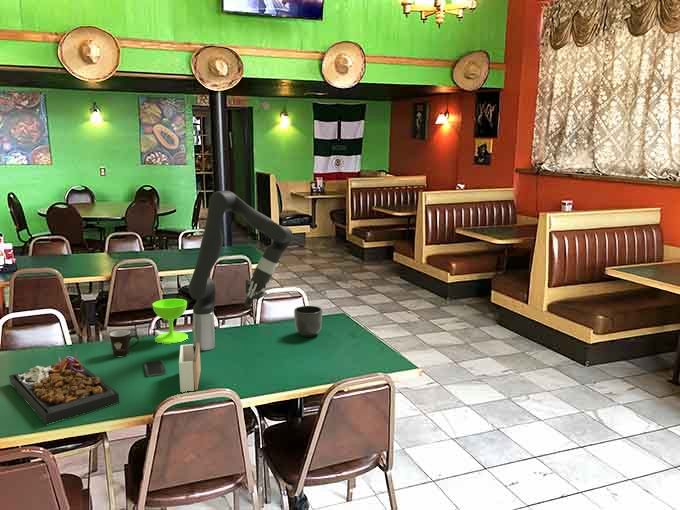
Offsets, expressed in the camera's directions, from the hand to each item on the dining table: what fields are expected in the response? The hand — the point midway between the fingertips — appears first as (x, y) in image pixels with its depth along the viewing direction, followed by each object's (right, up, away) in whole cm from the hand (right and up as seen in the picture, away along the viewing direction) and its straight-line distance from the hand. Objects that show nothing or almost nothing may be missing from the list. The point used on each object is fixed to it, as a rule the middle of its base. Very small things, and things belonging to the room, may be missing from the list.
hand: (247, 305), depth 237 cm
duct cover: (-17, -29, -14) cm, 36 cm away
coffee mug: (-57, -24, +13) cm, 64 cm away
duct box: (-21, -29, -15) cm, 39 cm away
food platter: (-66, -32, -26) cm, 77 cm away
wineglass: (-42, -20, +34) cm, 58 cm away
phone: (-39, -27, -2) cm, 47 cm away
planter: (+24, -19, +42) cm, 52 cm away
